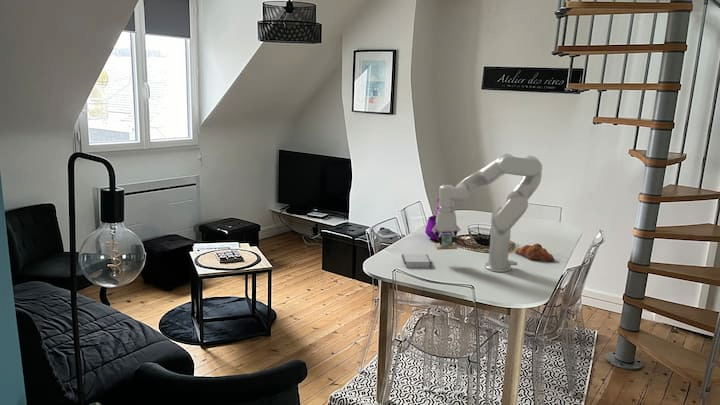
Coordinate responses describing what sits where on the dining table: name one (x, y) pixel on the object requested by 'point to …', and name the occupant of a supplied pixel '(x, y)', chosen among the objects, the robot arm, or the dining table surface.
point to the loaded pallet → (446, 242)
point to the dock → (416, 260)
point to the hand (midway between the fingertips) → (445, 243)
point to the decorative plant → (431, 225)
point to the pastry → (535, 253)
